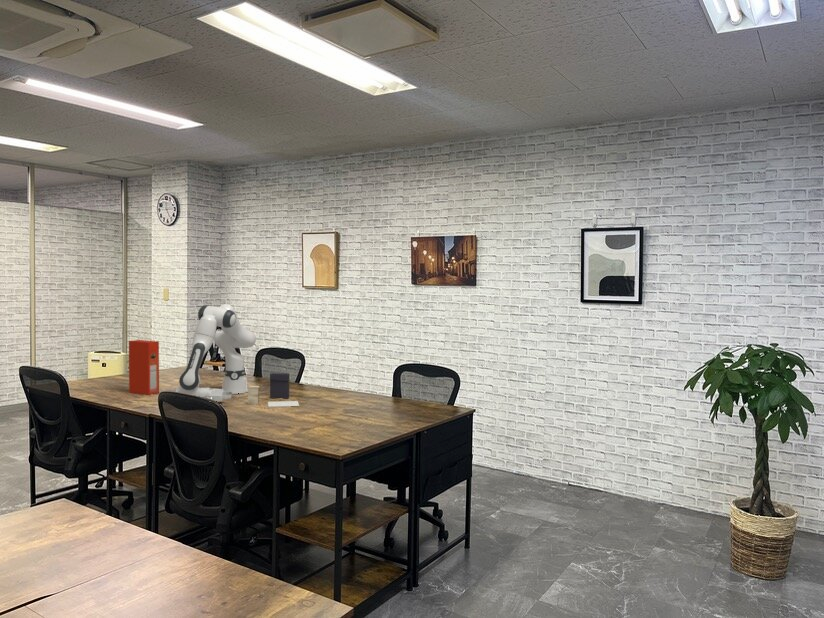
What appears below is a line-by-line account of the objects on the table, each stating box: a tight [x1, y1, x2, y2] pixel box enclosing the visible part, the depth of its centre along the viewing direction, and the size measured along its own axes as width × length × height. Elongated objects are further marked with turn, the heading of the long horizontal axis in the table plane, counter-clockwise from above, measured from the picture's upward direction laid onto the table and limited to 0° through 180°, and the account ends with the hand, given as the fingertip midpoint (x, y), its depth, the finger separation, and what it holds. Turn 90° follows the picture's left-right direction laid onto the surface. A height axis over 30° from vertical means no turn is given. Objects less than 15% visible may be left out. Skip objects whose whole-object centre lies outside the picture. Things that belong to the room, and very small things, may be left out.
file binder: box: [128, 339, 160, 396], centre depth 391 cm, size 8×17×32 cm, turn 62°
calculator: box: [269, 372, 290, 400], centre depth 382 cm, size 11×4×15 cm, turn 84°
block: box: [247, 385, 260, 406], centre depth 363 cm, size 5×6×10 cm
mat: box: [267, 400, 300, 408], centre depth 364 cm, size 14×17×1 cm
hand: (231, 394), depth 360 cm, fingers open, 8 cm apart
